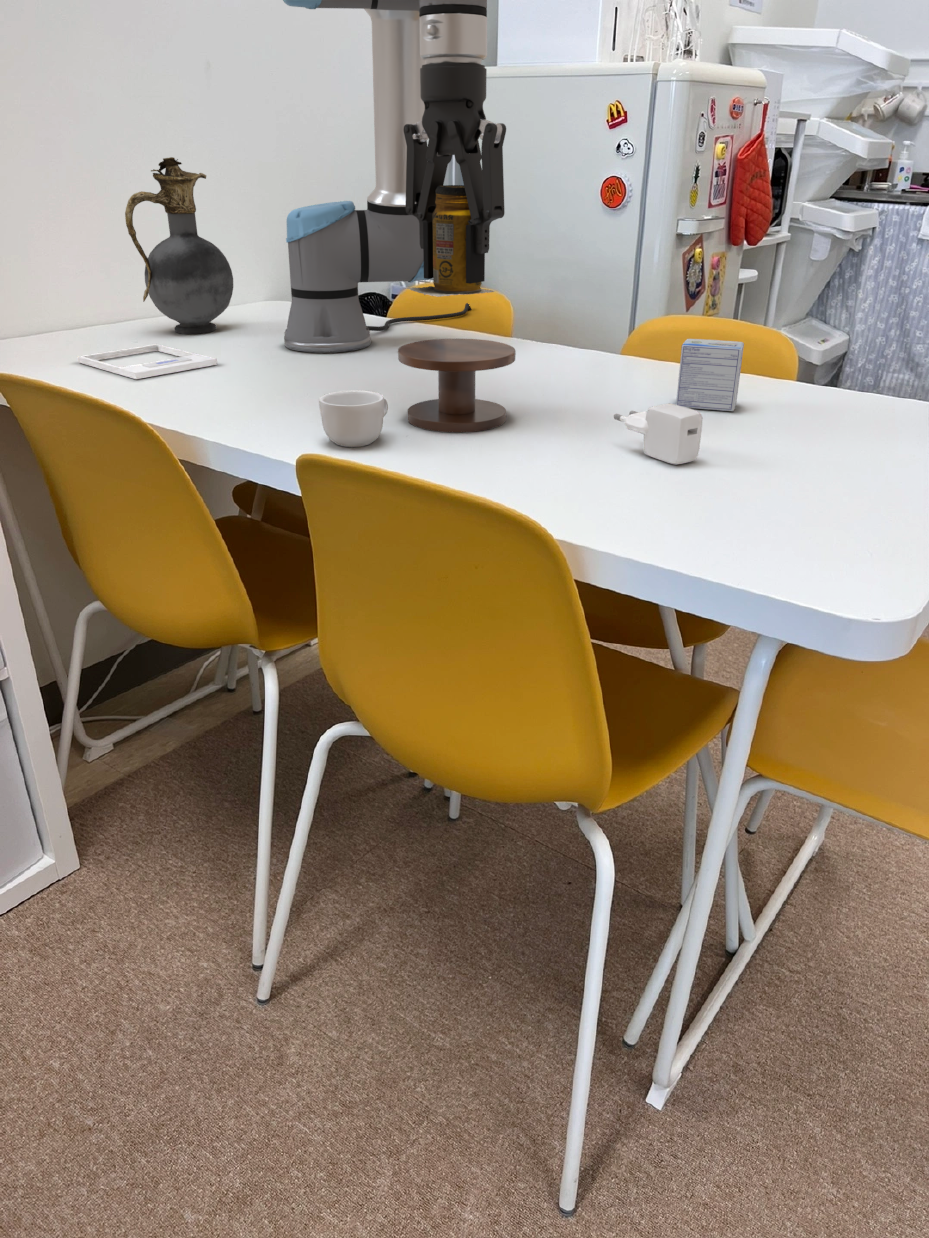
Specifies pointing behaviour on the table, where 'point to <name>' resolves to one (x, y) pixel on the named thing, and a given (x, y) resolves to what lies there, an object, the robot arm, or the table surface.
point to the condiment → (450, 245)
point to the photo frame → (151, 368)
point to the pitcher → (182, 256)
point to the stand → (456, 383)
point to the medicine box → (709, 374)
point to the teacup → (353, 416)
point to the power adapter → (667, 432)
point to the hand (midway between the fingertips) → (453, 279)
